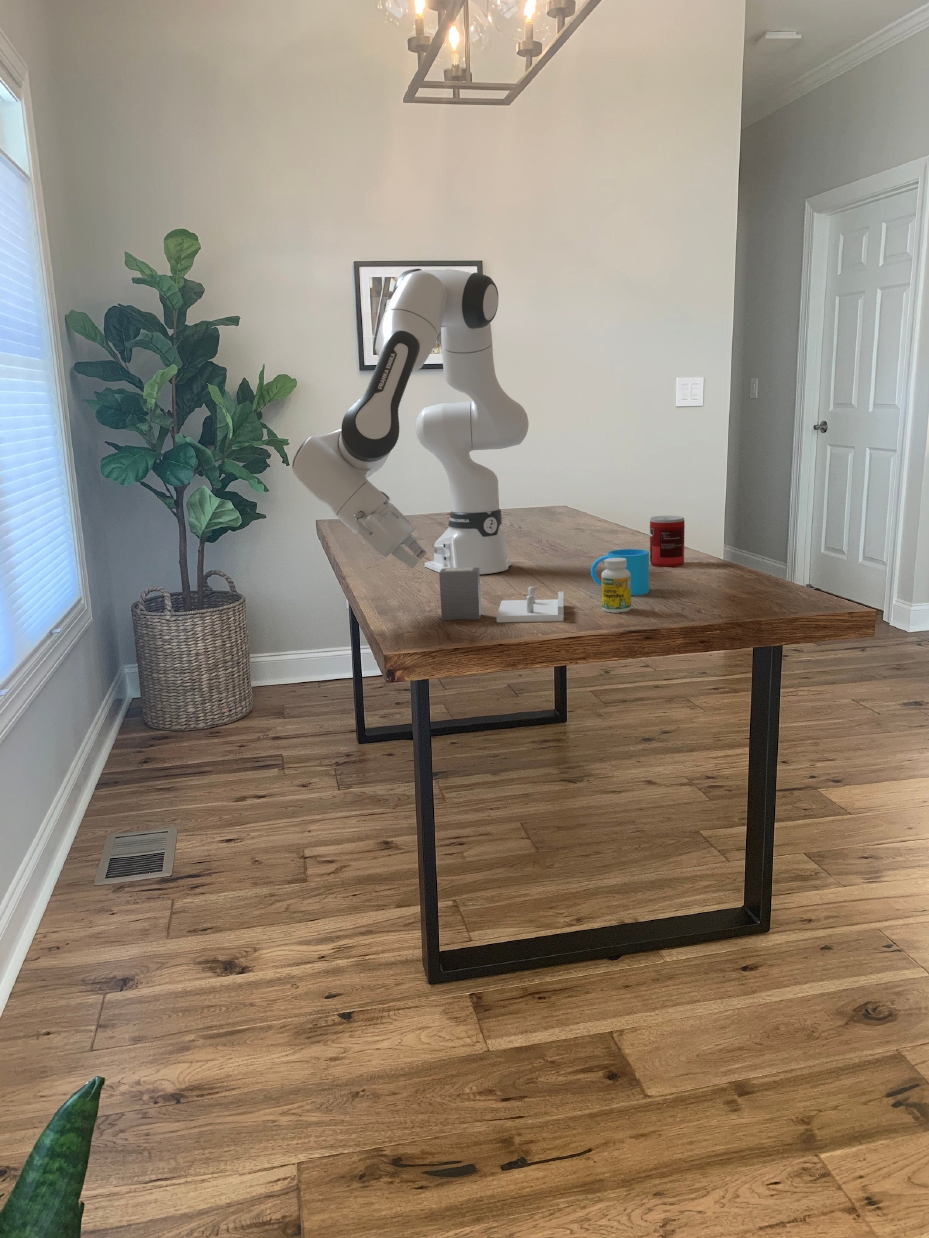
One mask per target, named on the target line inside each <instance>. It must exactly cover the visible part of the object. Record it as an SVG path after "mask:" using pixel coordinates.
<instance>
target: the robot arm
mask: <svg viewBox="0 0 929 1238" xmlns="http://www.w3.org/2000/svg"><path fill="white" fill-rule="evenodd" d="M498 306H499V291H498V286H497V285H496V283H495V282H494V280H493V279H492V277H491V276H489V275H485V274H484V273H479V272H469V271H464V270H458V269H450V268H445V269H422V268H412V269H408V270H405V271H403V272H402V273H401V274H400V276H398V278H397V279H396V280H395V282H394V286H393V290H392V296H391V297H390V300H389V301H388V304H387V306H386V308H385V310H384V313H383V315H382V318H381V320H380V323H379V327H378V331H377V333H376V334H377V336H376V341H375V345H374V346H375V347H374V349H375V352H376V355H377V357H378V361H377V363H376V366H375V368H374V370H373V373H372V376H371V377H370V381H369V383H368V386H367V388H366V390H365V393H364V394H363V395H362V396H361V397H360V398H359V399H358V400H357V401H355V403H354V404H353V405H351V406H350V408H348V410H347V411H346V412H345V414H344V417H343V419H342V422H341V428H340V429H337V430H335V431H332V432H329V433H325V434H320V435H310V436H308V437H307V438H306V439H305V440H304V441H303V442H302V444H301V445H300V446H299V448H298V450H297V451H296V453H295V455H294V456H293V461H292V466H291V467H292V472H293V474H294V476H295V478H296V479H297V480H298V481H299V482H300V483H301V484H302V485H303V486H304V488H305V489H307V490H308V491H309V492H310V494H311V495H313V496H314V497H315V498H316V499H317V500H318V501H320V502H322V503H323V504H325V505H326V506H327V507H329V509H331V511H332V513H333V514H334V516H335V517H337V519H339V520H340V521H341V522H342V523H343V524H344V525H345V526H346V527H347V528H348V529H349V530H350V531H352V532H353V533H354V534H357V533H358V535H360V537H361V538H362V539H363V540H364V541H366V542H367V544H368V545H369V546H370V547H371V548H372V549H374V551H376V552H377V553H378V554H379V555H381V557H383V558H388V557H389V556H390V555H393V557H394V558H395V559H397V560H399V561H401V562H402V563H404V564H406V565H407V566H408V568H410V569H414V568H415V567H416V566H417V565H418V564H419V562H420V560H422V559H424V558H425V556H426V555H427V550H426V549H425V548H424V547H423V546H422V545H421V544H420V542H419V541H418V540H417V539H416V537H415V536H414V535H413V534H414V532H415V531H416V530H415V527H414V526H413V524H412V523H411V521H409V520H408V518H407V517H406V516H405V514H403V513H402V511H400V510H399V509H398V508H397V507H396V506H395V504H393V503H392V502H390V501H391V498H390V496H388V494H386V493H385V492H384V491H381V490H380V489H378V488H377V487H376V486H375V485H374V484H372V482H371V481H369V479H368V478H369V477H371V475H373V474H374V473H376V472H378V471H379V470H381V469H382V467H383V466H384V465H385V463H386V462H387V459H388V457H389V455H390V454H391V451H392V450H393V449H394V447H395V446H396V445H397V443H398V440H399V437H400V420H399V407H400V405H401V401H402V398H403V395H404V394H405V391H406V387H407V385H408V382H409V380H410V377H411V375H412V373H413V372H416V371H418V370H420V369H421V368H422V367H424V364H425V363H426V362H427V360H428V358H429V356H430V354H431V352H432V351H433V348H434V347H435V344H436V342H437V340H438V337H439V334H440V341H441V343H440V344H441V354H442V355H441V356H442V367H443V368H442V369H443V376H444V377H443V378H444V379H445V381H446V382H447V384H448V385H449V386H450V387H451V388H453V389H454V390H455V391H458V392H460V393H462V394H465V395H466V396H468V397H469V398H470V399H471V401H459V402H458V401H455V402H442V403H441V402H440V403H437V404H432V405H429V406H426V407H423V408H422V409H421V411H420V412H419V414H418V416H417V418H416V422H415V433H416V434H415V435H416V436H417V439H418V441H419V442H420V444H421V446H423V447H424V449H426V450H427V451H429V452H430V453H431V454H433V455H434V456H435V458H437V460H439V462H440V463H441V465H442V466H443V468H444V470H445V472H446V475H447V477H448V482H449V489H450V497H451V511H450V513H446V516H447V517H446V519H448V523H447V526H448V528H446V529H445V531H444V532H443V533H442V535H441V536H440V537H439V538H438V539H437V540H435V542H434V545H433V560H430V561H427V562H424V568H427V569H429V570H431V571H434V572H437V573H439V572H440V571H441V569H444V568H460V567H474V568H479V570H480V575H486V574H487V575H488V574H494V573H495V574H496V573H500V572H504V571H507V570H508V569H509V567H510V566H512V561H511V559H509V557H508V549H507V542H506V535H505V532H504V531H503V530H502V527H501V525H502V523H503V521H502V518H503V514H502V509H500V501H499V500H500V495H499V478H498V476H497V474H496V473H495V472H494V471H493V470H492V469H490V468H488V467H486V466H484V465H482V464H480V463H477V462H475V461H474V460H473V459H472V458H471V455H470V452H472V451H485V450H503V449H507V448H511V447H514V446H519V445H521V443H523V441H524V440H525V439H526V436H527V434H528V431H529V417H528V415H527V412H526V410H525V408H524V407H523V406H522V405H521V404H520V403H519V402H517V400H514V399H513V398H511V396H509V395H508V394H507V393H506V392H505V390H504V389H503V388H502V387H501V384H500V382H499V380H498V378H497V375H496V369H495V364H494V348H493V335H492V325H491V322H492V321H493V320H494V319H495V317H496V314H497V312H498V308H499V307H498ZM403 545H404V546H405V547H406V548H408V549H410V551H411V552H412V553H413V554H412V553H410V552H409V551H408V550H406V548H405V547H404V546H403Z"/></svg>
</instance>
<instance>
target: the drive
mask: <svg viewBox="0 0 929 1238" xmlns="http://www.w3.org/2000/svg"><path fill="white" fill-rule="evenodd" d="M438 573H439V574H438V575H439V589H440V591H439V593H440V609H441V610H440V611H441V621H455V620H454V619H479V620H480V619H481V617H482V601H481V600H482V599H481V597H482V596H481V574H480V570H479V568H474V567H460V568H444V569H441V571H440V572H438Z"/></svg>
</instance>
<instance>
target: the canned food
mask: <svg viewBox="0 0 929 1238" xmlns="http://www.w3.org/2000/svg"><path fill="white" fill-rule="evenodd" d="M649 519H650V520H649V564H650V565H651V566H652V565H653V566H652V567H656V568H662V567H672V568H679V567H678V566H680V567H682V566H684V563H685V529H686V527H685V525H686V524H685V517H684V516H680V515H656V516H652V517H650V518H649ZM681 565H682V566H681Z"/></svg>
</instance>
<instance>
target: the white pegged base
mask: <svg viewBox="0 0 929 1238" xmlns="http://www.w3.org/2000/svg"><path fill="white" fill-rule="evenodd" d="M557 594H558V595H557V598H556V599H554V598H553V599H536V587H535V586H529V587H528V595H526V599H518V600H517V599H514V600H513V599H512V600H511V599H510V600H501V602H500V605H499V608H498V610H497V615H496V623H532V622H533V623H535V622H536V623H538V622H539V623H540V622H545V623H546V622H564V621H565V620H564V618H565V613H564V612H565V611H564V610H565V601H564V600H565V597H564V596H565V593H564V591H557Z"/></svg>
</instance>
